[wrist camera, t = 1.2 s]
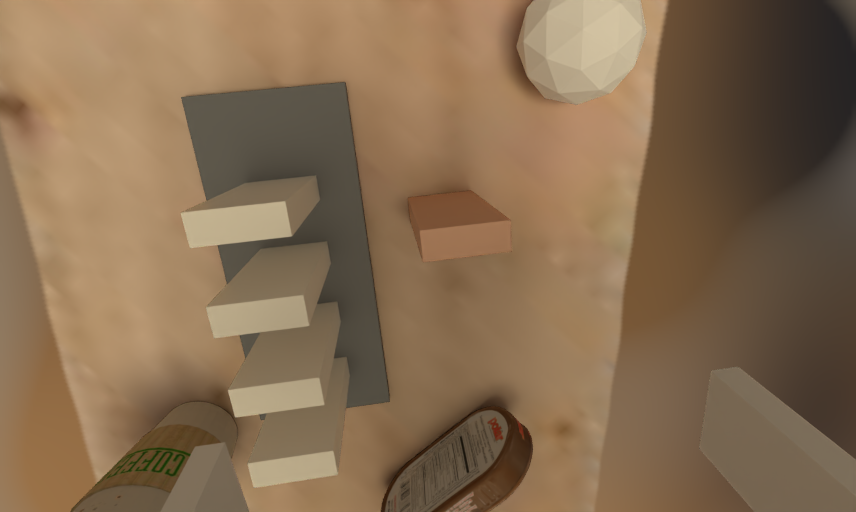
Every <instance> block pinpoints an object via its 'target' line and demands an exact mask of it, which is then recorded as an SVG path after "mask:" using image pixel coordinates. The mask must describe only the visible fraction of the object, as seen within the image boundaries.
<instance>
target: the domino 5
mask: <svg viewBox="0 0 856 512" xmlns="http://www.w3.org/2000/svg"><path fill="white" fill-rule="evenodd" d="M408 206H409V215H410V222H411V225H412V228H413V231H414V235H415V238H416V241H417V244H418V248H419V251H420V254H421V257H422V261H423V262H430V261H438V260H447V259H455V258H463V257H471V256H479V255H488V254H496V253H504V252H512V239H511V220H510V219H509V218H507V217H506V216H505V215H503V214H502V213H501V212H499V211H498V210H497V209H495V208H494V207H493V206H491V205H490V204H489V203H487V202H486V201H485V200H483V199H482V198H480V197H479V196H478V195H476V194H475V193H474V192H472V191H462V192H453V193H444V194H435V195H426V196H417V197H408Z"/></svg>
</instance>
